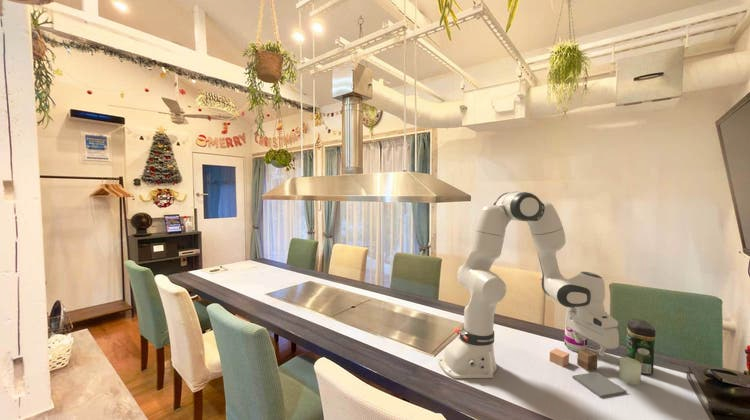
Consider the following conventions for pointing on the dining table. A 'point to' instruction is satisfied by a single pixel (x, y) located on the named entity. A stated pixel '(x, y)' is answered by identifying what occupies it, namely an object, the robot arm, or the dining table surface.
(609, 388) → the coaster
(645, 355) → the coffee jar
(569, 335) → the supplement can
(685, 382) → the dining table surface
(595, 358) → the walnut block
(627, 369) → the pale green capsule
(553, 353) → the terracotta block
